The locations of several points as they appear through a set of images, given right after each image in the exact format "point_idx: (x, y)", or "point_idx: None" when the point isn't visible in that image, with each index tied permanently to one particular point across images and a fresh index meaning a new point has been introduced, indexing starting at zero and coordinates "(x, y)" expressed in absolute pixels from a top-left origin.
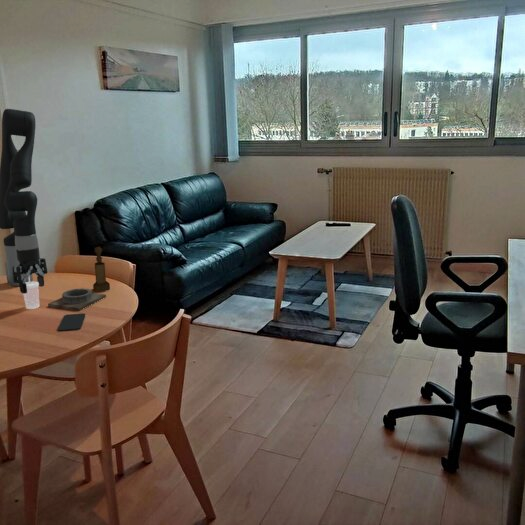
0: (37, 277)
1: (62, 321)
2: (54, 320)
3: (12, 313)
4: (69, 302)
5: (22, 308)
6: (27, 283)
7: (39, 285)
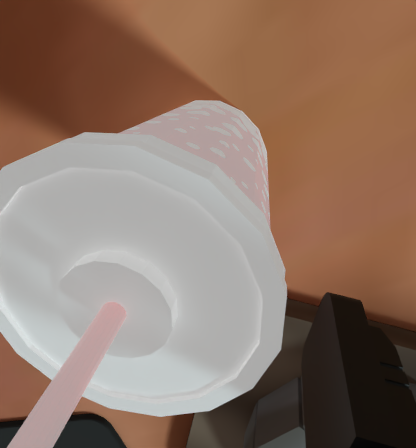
0: (346, 432)
1: (16, 431)
2: (28, 388)
3: (19, 67)
4: (247, 431)
5: (151, 82)
6: (91, 277)
7: (322, 316)
